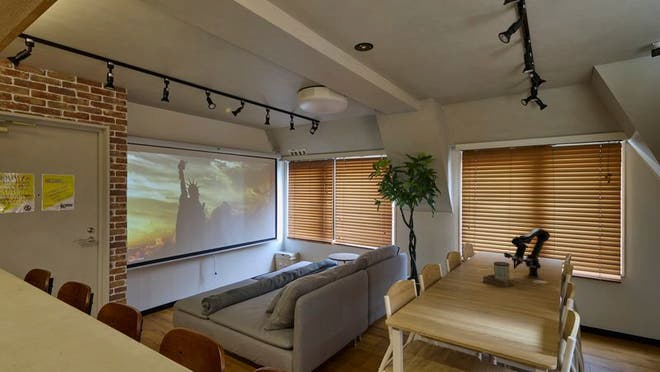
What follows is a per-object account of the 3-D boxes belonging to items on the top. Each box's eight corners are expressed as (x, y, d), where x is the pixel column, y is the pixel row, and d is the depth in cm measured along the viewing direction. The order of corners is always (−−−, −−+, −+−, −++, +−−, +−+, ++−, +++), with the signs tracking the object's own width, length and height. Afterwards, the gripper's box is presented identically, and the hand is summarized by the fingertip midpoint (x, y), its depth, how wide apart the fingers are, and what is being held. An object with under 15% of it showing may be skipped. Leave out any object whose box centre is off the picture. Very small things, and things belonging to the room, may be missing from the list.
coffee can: (492, 280, 242) (491, 261, 243) (506, 280, 241) (506, 261, 241) (497, 284, 232) (497, 264, 232) (512, 284, 231) (512, 264, 231)
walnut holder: (493, 279, 244) (493, 274, 244) (513, 284, 230) (513, 279, 230) (483, 281, 239) (483, 276, 239) (504, 287, 225) (503, 281, 225)
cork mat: (531, 280, 241) (531, 279, 241) (547, 282, 235) (547, 281, 236) (531, 283, 232) (531, 282, 232) (548, 285, 227) (548, 284, 227)
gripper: (534, 258, 248) (528, 276, 243) (508, 250, 259) (502, 267, 255) (534, 253, 239) (528, 272, 235) (507, 244, 251) (500, 262, 247)
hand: (514, 268), depth 244 cm, fingers closed
